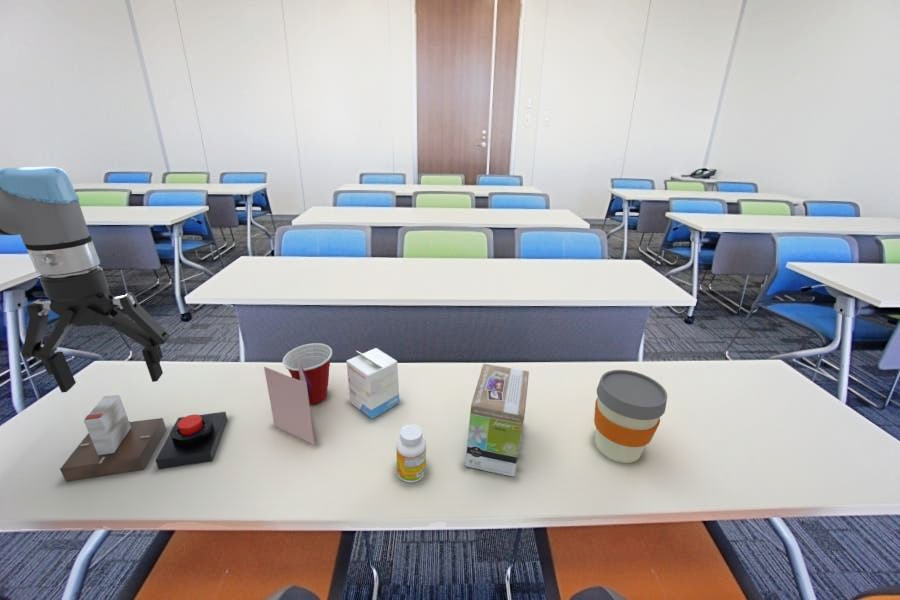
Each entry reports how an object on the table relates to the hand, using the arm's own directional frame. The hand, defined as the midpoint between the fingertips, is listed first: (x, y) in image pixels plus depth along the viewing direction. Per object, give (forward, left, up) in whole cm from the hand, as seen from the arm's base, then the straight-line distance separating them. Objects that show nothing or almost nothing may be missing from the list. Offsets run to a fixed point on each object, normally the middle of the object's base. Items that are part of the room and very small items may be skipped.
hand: (114, 382), depth 71 cm
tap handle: (-3, 0, -13) cm, 13 cm away
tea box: (+69, -14, -16) cm, 72 cm away
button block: (+10, 0, -16) cm, 19 cm away
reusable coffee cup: (+94, -20, -16) cm, 97 cm away
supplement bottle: (+51, -17, -16) cm, 56 cm away
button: (+10, 0, -12) cm, 16 cm away
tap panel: (-3, 0, -16) cm, 16 cm away
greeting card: (+29, -1, -16) cm, 33 cm away
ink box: (+46, +5, -16) cm, 49 cm away
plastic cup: (+32, +10, -16) cm, 37 cm away
